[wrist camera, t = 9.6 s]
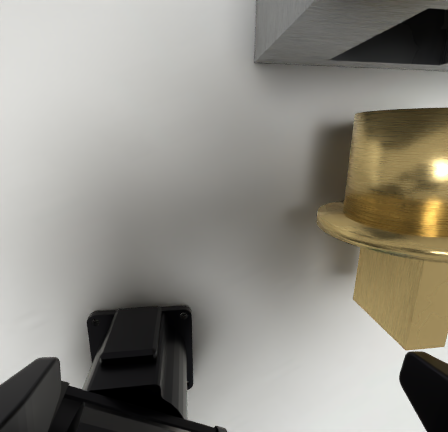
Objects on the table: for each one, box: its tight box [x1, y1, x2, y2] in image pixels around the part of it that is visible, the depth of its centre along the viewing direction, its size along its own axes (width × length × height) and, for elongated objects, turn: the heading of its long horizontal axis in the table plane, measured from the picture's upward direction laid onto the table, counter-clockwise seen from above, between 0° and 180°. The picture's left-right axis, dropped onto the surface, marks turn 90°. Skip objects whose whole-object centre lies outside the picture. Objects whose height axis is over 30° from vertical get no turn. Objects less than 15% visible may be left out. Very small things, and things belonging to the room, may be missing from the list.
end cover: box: [317, 108, 448, 350], centre depth 15 cm, size 11×8×8 cm
